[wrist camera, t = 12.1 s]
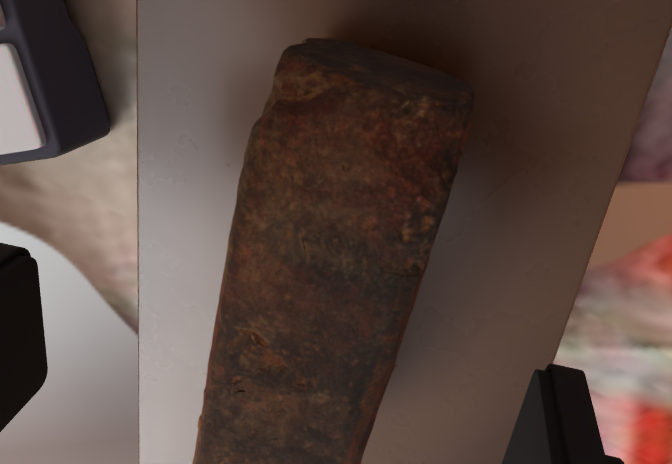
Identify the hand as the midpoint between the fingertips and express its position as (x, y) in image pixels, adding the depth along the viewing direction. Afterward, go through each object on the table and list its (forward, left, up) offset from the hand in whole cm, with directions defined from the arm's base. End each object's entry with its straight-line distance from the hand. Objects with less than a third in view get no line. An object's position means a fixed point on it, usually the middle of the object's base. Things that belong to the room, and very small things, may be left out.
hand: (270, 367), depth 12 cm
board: (0, 0, -7) cm, 7 cm away
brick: (0, 0, -6) cm, 6 cm away
